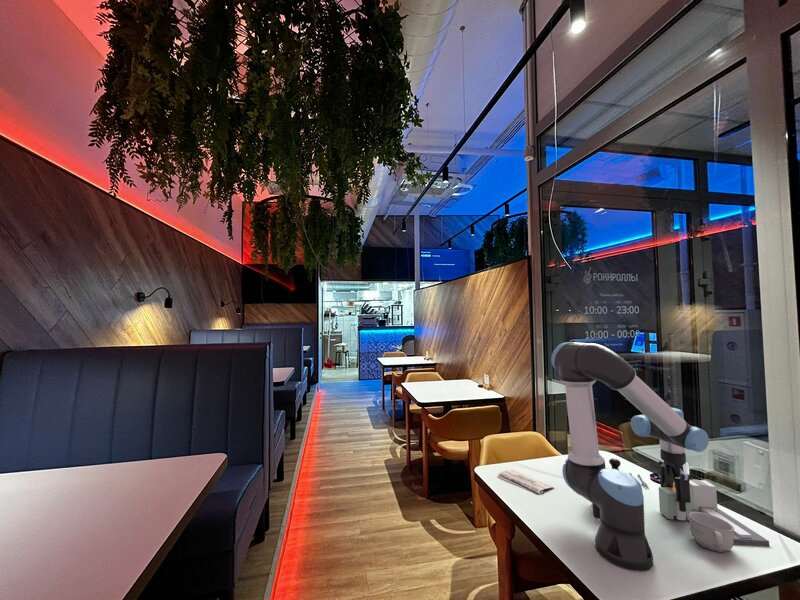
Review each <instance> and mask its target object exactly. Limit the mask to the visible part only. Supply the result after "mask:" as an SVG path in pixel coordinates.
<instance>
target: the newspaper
mask: <svg viewBox="0 0 800 600" xmlns="http://www.w3.org/2000/svg"><path fill="white" fill-rule="evenodd" d="M497 477H498V478H500V479H502V480H504V481H506V482H510V483H511V484H514V485H516V486H518V487H520V488H521V489H524V490H525V491H527V492H531V493H536V494H537V495H541V494H544V493H543V492H542V491H544V490H547V489H552V488H553V489H555V487H554V486H552V485H549V484H547V483H544V482H542V481H539V480H537V479H534V478H533V477H531V476H527V475H525V474H523V473H520V472H518V471H517V470H514V469H509V470H503V471H501V472H499V473H498V475H497ZM541 490H542V491H541Z"/></svg>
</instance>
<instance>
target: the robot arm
mask: <svg viewBox="0 0 800 600" xmlns="http://www.w3.org/2000/svg"><path fill="white" fill-rule="evenodd" d="M551 365H552V367H553V368H554V369H555V371H557V372H558V373H559V374H558V375H559V381H560V382H561V383H562V384H564V386H565V387H564V388H565V399H566V407H567V408H566V409H567V417H568V427H569V428H568V429H569V438H570V448H571V451H570V452H569V453H568V454H567V459H565V462H564V463H565V464H563V465H562V471H561V472H562V477H563V481H564V482H565V484H566V486H567V487H569V488H570V489H571V490H572V491H573V492H575V493H576V494H577V495H579V496H581V497H583V498H584V499H586V500H587V501H589V502H591V504H592V503H593V504H595V505H596V506H598V507H599V508H600V519H599V520H600V522H599V525H598V527H597V528H598V529H597V532H596V534H595V537H594V547H595V550H596V552H597V553H598V554H599V556H600V557H602V558H603V559H604V560H606V561H607V562H608V563H610V564H613V565H615V566H617V567H619V568H622V569H625V570H630V571H633V572H644V571H645V572H647V571H649V570H651V569H652V568H653V567H654V554H653V552H652V551H653V550H652V548H651V546H650V543H649V540H648V539H647V538H648V537H647V536H646V533H645V532H646V530H645V504H644V503H645V500H644V497H645V496H644V494H643V488H642V487H643V486H642V483H640V481H639V480H638V479H637V478H636V477H634V476H633V475H632V476H631V475H629V472H628V473H627V472H625V471H623V470H619V471H618V470H616V469H611V468H607V467H606V461H605V458H604V457H603V456H602V455H601V454H600V449H599V441H598V433H597V432H598V431H597V422H596V413H595V404H594V402H595V401H594V393H593V392H594V391H593V385H594V384H595V383H596V382H597V381H599V382H601V383H603V384H605V386H607V387H608V388H610V389H611V390H615V391H618V392H619V393H620V394H621V395H622V396H623V397H624V398H625V399H626V400H628V402H629V403H630V404H632V405H633V406H634V407H635V408H636V409H637V410H638V411H640V412H641V413H642V414H638V415H634V416H632V417H631V420H630V428H631V429H632V431H633V433H635V435H637V436H639V437H641V438H642V437H643V438H644V437H645V438H648V437H649V438H651V437H652V438H654V439H658V440H659V448H660V449H659V450H660V453H659V454H660V459H661V460H658V465H659V482H660V483H659V485H660V486H659V487H675V489H676V494H677V499H675V500H676V515H677V516H676V520H678V521H687V519H686V503H690V502H691V500H690V483H689V481H690V480H691V475H690V474H688V473H686V472H685V470H684V465H685V464H687V454H686V453H685V452H686V450H689V451H690V450H691V451H694V452H696V453H702V452H704V451H705V450H706V449H707V448H708V446H709V442H710V441H709V435H708V433H707V432H706V431H705V430H704V429H702V428H699V427H697V426H693V425H690V424H689V423H688V422H687V421H686V420H685V419H684V418H685V416H684V412H683V410H681V409H679V408H676V407H671V406H670V405H669V404H668V403H667V402H666V401H664V400H663V398H661V397H660V396H659V395H658V394H657V393H656V392H655V391H654V390H653V389H652V388H650V387H649V386H648V385H647V384H646V383H645V382H644V381H643V380H642V379H641V378H640V377H639V376H637V371H636V369H635V368H634V367H633V366H632V365H631V364H630V363H628V361H626V360H625V359H624V358H623V357H621V355H619V354H618V353H616V352H614V351H613V350H611V349H610V348H608V347H606V346H604V345H601V344H598V343H592V342H590V343H588V342H577V341H569V342H562V343H559V344H558V345H557V346H556V347H555V348H554V350H553V351H552V354H551Z"/></svg>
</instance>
